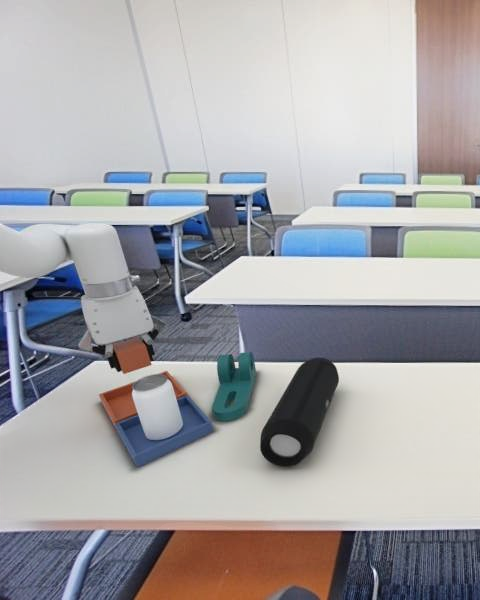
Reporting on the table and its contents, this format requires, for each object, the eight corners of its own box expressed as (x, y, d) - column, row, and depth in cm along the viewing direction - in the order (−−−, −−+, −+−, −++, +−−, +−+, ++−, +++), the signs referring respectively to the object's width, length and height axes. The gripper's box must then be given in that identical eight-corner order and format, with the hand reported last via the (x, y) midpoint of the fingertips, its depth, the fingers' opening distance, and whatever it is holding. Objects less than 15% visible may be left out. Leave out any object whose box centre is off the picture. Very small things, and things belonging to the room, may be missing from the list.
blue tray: (137, 467, 74) (133, 457, 73) (118, 433, 81) (114, 423, 80) (213, 431, 83) (211, 422, 82) (190, 403, 91) (187, 394, 90)
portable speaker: (312, 471, 75) (307, 429, 71) (259, 470, 74) (250, 428, 70) (342, 389, 98) (339, 354, 94) (301, 388, 98) (297, 353, 94)
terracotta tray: (117, 431, 82) (113, 421, 81) (102, 403, 90) (98, 394, 89) (188, 402, 91) (186, 393, 90) (169, 379, 99) (167, 370, 98)
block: (123, 374, 83) (116, 353, 81) (117, 365, 86) (110, 345, 84) (151, 364, 87) (145, 345, 85) (144, 356, 90) (138, 337, 88)
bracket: (227, 376, 101) (221, 350, 98) (256, 373, 103) (251, 346, 100) (210, 423, 85) (202, 393, 82) (245, 418, 87) (239, 388, 84)
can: (169, 416, 86) (155, 369, 81) (190, 425, 84) (177, 377, 79) (138, 436, 80) (121, 386, 75) (160, 445, 78) (144, 395, 73)
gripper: (153, 272, 87) (173, 344, 95) (47, 292, 75) (79, 373, 83) (164, 280, 83) (184, 355, 90) (54, 304, 71) (87, 388, 78)
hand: (134, 363), depth 86 cm, fingers closed on block, 5 cm apart
